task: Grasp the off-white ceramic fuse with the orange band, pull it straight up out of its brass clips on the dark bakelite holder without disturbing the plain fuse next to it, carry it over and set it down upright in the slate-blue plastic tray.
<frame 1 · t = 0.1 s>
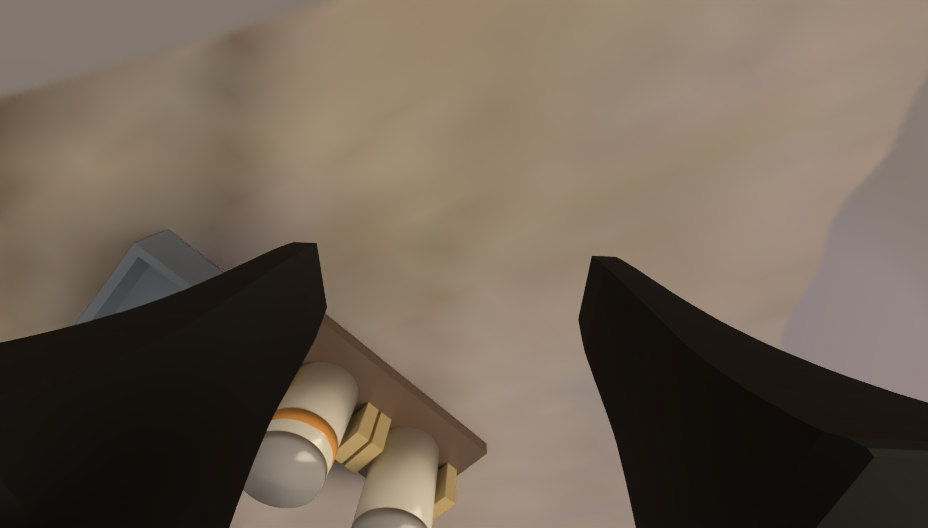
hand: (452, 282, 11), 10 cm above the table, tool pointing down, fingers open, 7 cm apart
fuse holder: (370, 413, 25), on the table
tray: (193, 324, 24), on the table
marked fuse: (324, 390, 24), point 1 cm above the table, touching fuse holder
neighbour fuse: (407, 452, 25), point 1 cm above the table, touching fuse holder
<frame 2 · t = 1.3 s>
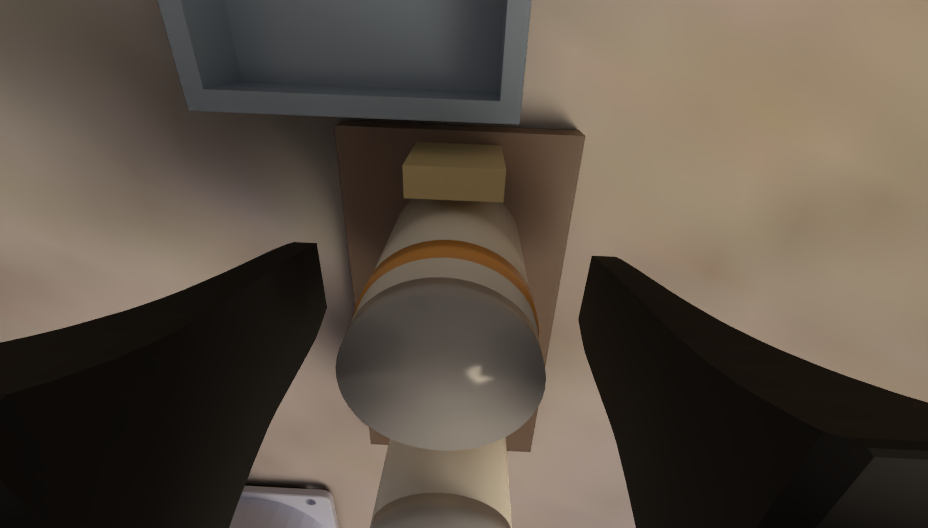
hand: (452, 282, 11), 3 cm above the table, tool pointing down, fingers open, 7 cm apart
fuse holder: (454, 311, 15), on the table
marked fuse: (456, 243, 13), point 1 cm above the table, touching fuse holder
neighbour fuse: (452, 390, 16), point 1 cm above the table, touching fuse holder
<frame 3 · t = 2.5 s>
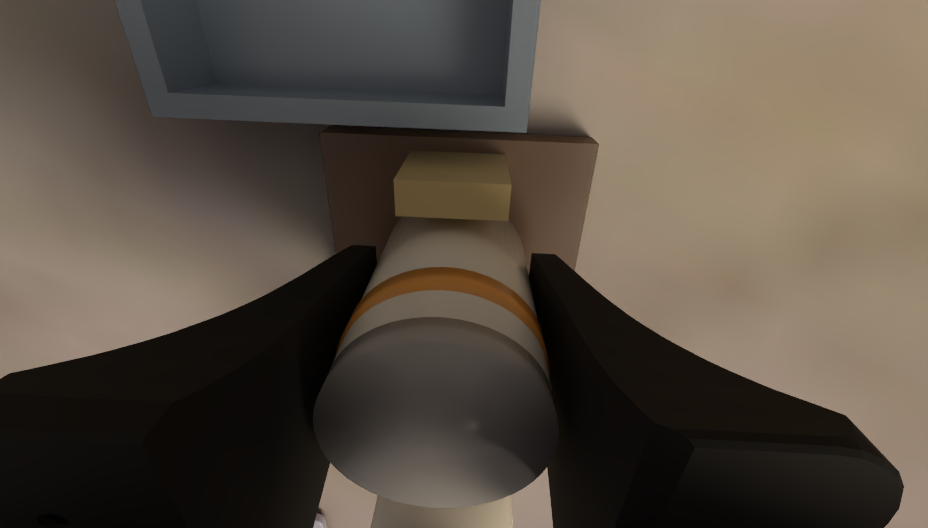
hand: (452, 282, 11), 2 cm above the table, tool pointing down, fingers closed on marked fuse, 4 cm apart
fuse holder: (454, 331, 14), on the table
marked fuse: (455, 260, 12), point 1 cm above the table, touching fuse holder, gripper
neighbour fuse: (451, 414, 15), point 1 cm above the table, touching fuse holder
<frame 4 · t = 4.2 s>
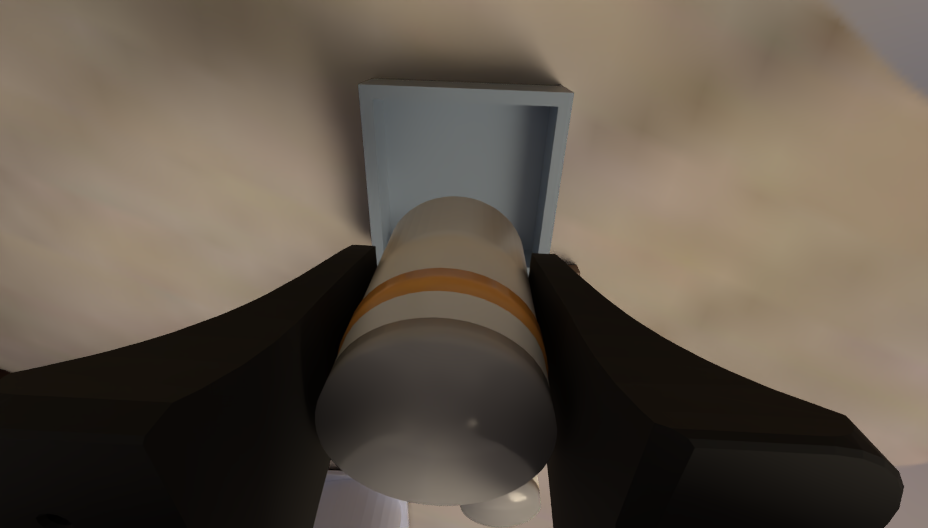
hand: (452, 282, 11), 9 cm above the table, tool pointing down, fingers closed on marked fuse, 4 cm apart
tray: (464, 175, 19), on the table
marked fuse: (455, 260, 12), point 8 cm above the table, touching gripper
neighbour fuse: (496, 408, 25), point 1 cm above the table, touching fuse holder
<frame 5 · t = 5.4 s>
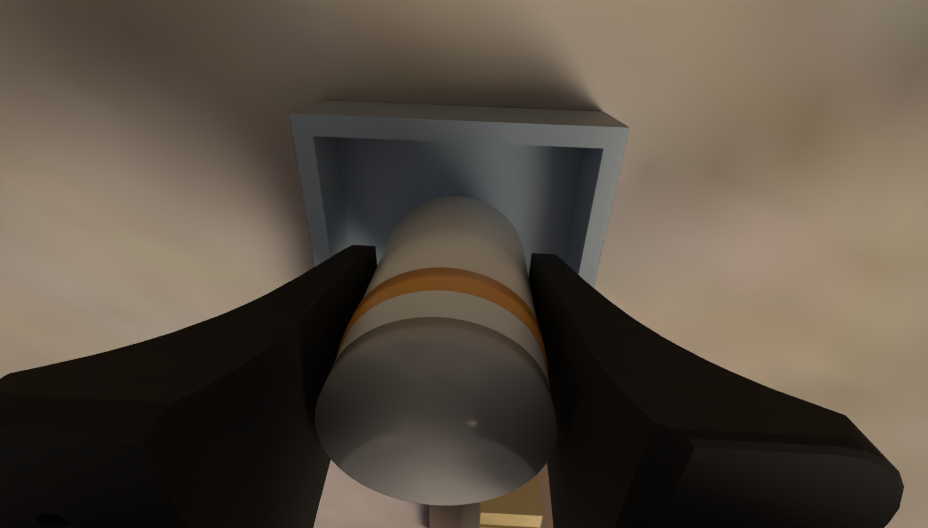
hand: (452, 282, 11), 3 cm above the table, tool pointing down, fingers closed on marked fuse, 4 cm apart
fuse holder: (505, 455, 19), on the table
tray: (458, 233, 14), on the table
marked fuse: (455, 260, 12), point 2 cm above the table, touching gripper
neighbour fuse: (500, 512, 20), point 1 cm above the table, touching fuse holder
when the fingers open (3 cm above the table, at t = 6.2 s): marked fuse drops 1 cm, resting on tray.
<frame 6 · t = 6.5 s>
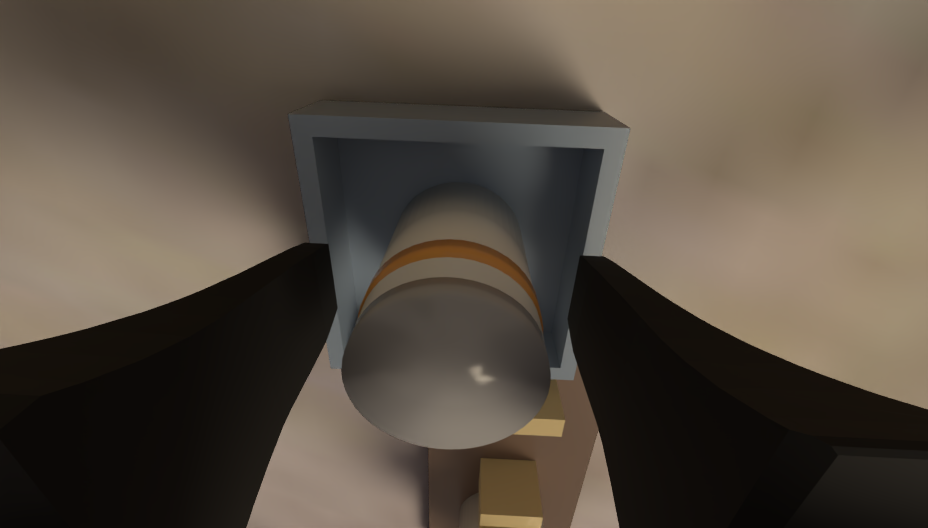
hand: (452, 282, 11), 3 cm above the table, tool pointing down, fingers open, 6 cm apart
fuse holder: (505, 456, 19), on the table
tray: (458, 234, 13), on the table
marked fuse: (458, 242, 13), point 1 cm above the table, touching tray
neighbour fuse: (500, 513, 20), point 1 cm above the table, touching fuse holder
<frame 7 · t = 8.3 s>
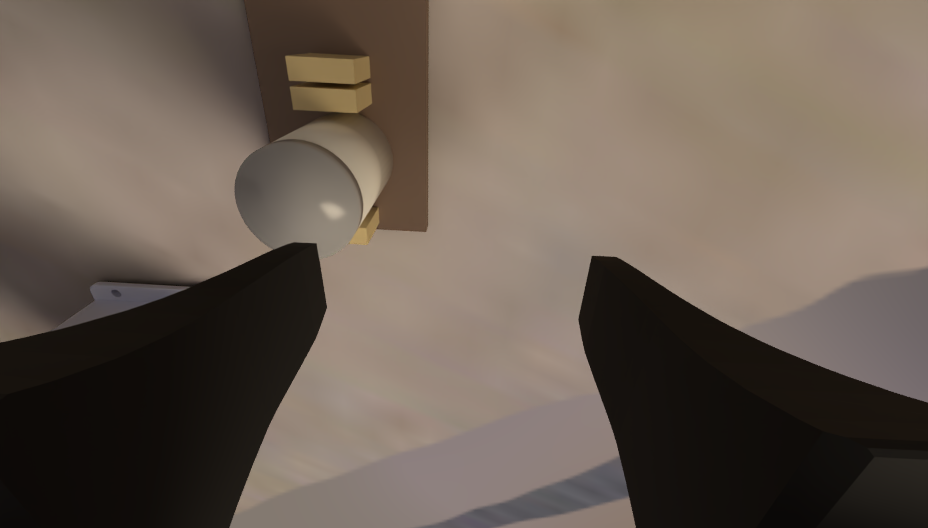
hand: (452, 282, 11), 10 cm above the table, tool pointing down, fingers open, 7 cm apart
fuse holder: (347, 77, 18), on the table
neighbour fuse: (349, 157, 19), point 1 cm above the table, touching fuse holder
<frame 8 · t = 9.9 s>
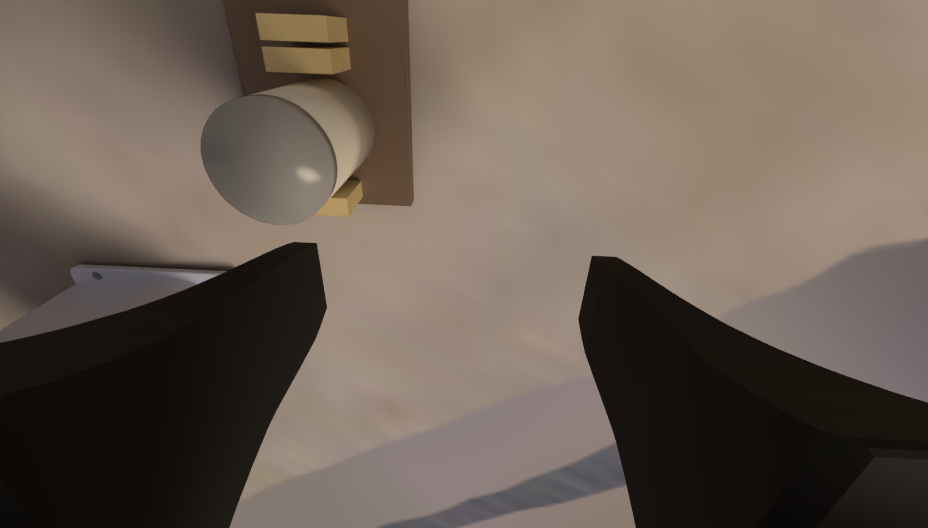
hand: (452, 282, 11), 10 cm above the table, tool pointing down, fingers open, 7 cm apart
fuse holder: (325, 42, 17), on the table
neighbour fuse: (329, 127, 18), point 1 cm above the table, touching fuse holder
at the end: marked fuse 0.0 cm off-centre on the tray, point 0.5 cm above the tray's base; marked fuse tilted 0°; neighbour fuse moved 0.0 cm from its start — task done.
